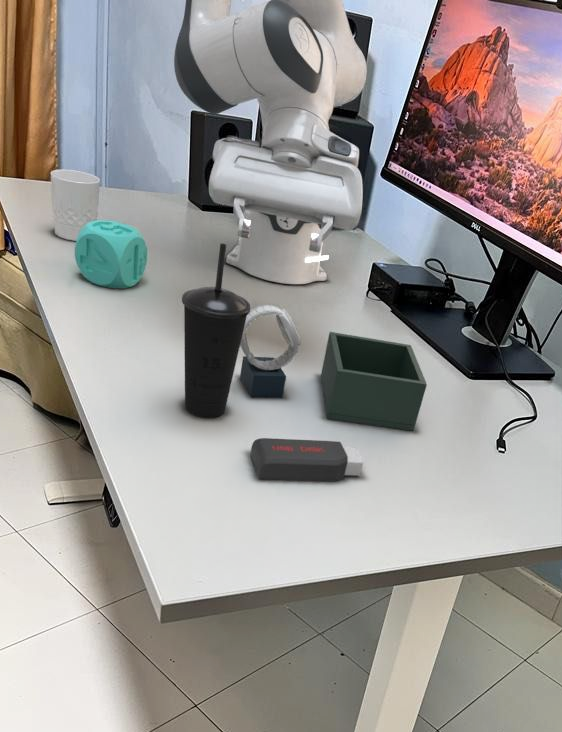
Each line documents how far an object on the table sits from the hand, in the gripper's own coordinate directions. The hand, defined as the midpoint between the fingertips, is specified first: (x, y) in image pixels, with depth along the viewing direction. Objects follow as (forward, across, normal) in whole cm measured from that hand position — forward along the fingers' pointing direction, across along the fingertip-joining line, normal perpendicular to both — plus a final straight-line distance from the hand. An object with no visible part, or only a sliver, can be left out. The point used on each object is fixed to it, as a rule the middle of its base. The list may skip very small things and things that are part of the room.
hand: (279, 242), depth 100 cm
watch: (+18, +1, +5) cm, 19 cm away
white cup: (-15, -36, +38) cm, 55 cm away
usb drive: (+32, +7, -8) cm, 33 cm away
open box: (+18, +15, +6) cm, 24 cm away
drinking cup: (+24, -6, -1) cm, 25 cm away
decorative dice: (-2, -26, +25) cm, 36 cm away
